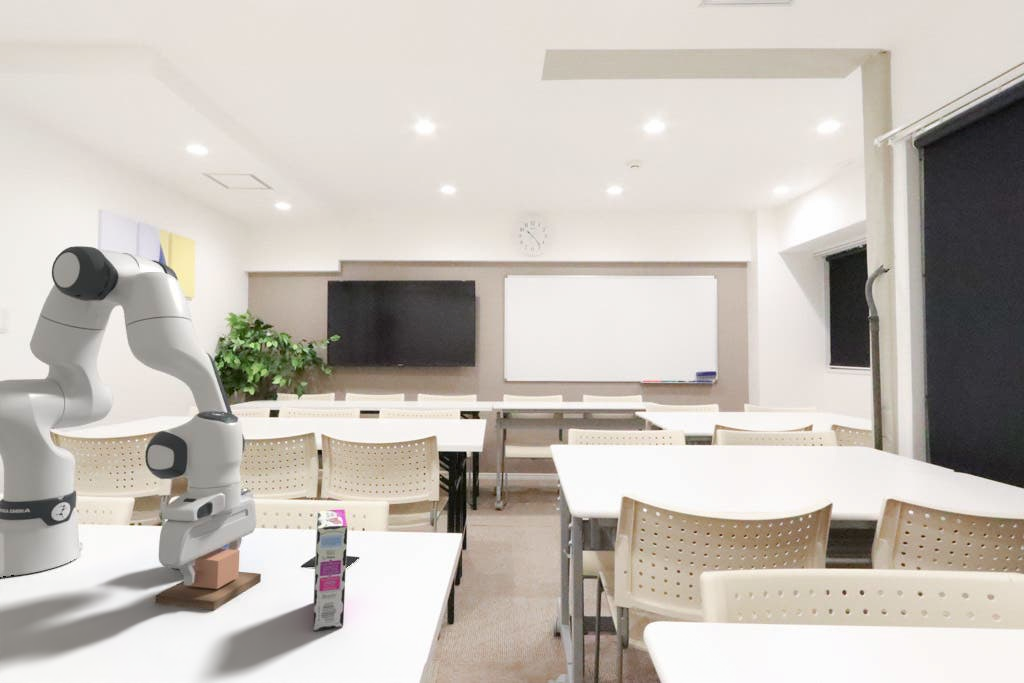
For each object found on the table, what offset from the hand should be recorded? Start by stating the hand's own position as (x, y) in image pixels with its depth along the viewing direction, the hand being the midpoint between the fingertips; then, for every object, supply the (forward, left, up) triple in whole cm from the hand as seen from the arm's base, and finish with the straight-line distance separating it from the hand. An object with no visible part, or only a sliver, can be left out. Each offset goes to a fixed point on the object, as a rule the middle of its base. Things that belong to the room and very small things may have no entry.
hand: (211, 572), depth 95 cm
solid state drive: (+14, +18, -4) cm, 23 cm away
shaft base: (0, 0, -4) cm, 4 cm away
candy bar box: (+26, -3, -4) cm, 26 cm away
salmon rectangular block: (0, 0, -2) cm, 2 cm away
